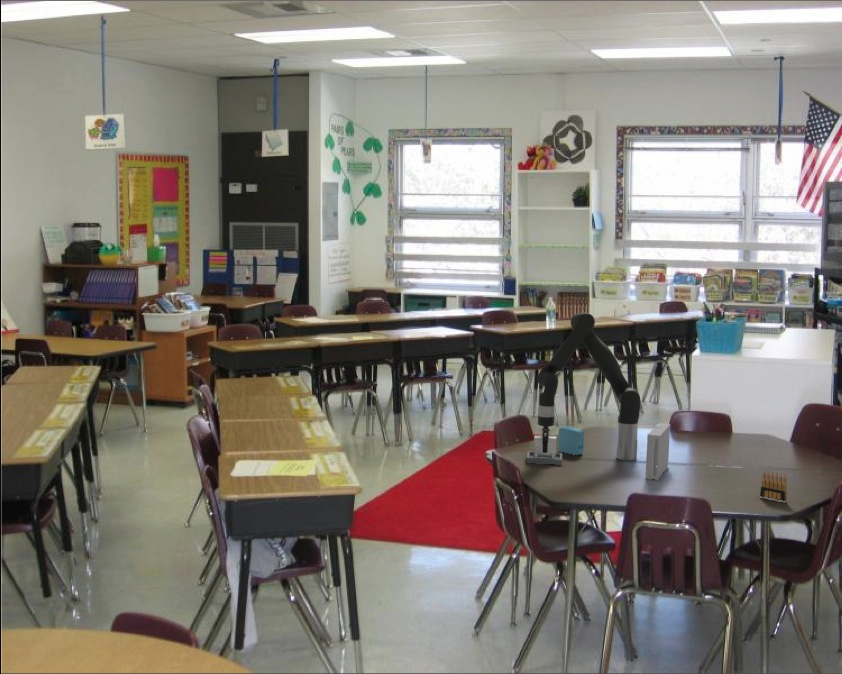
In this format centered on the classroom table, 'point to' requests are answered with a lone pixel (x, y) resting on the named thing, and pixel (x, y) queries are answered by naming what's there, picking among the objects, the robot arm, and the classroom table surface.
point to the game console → (657, 451)
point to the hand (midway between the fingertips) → (544, 451)
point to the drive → (550, 449)
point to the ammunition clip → (773, 486)
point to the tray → (544, 459)
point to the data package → (571, 440)
